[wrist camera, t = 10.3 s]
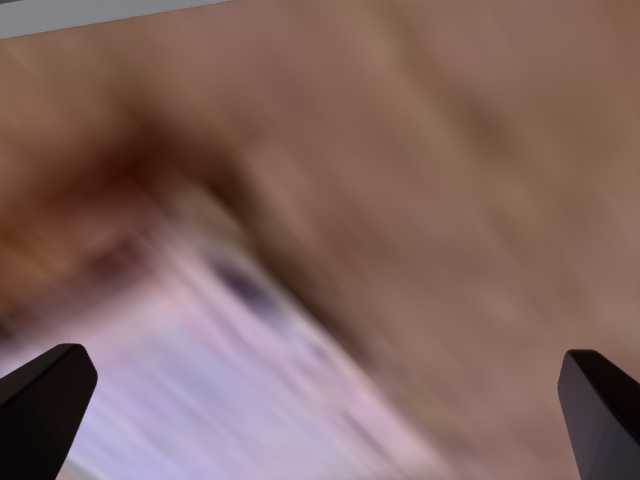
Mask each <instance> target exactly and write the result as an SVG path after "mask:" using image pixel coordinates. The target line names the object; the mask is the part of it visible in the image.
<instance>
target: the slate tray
mask: <svg viewBox="0 0 640 480" xmlns="http://www.w3.org/2000/svg"><path fill="white" fill-rule="evenodd" d="M227 1H233V0H0V39H5V38H11V37H17V36H23V35H29V34H35V33H41V32H47V31H53V30H59V29H65V28H71V27H77V26H83V25H89V24H95V23H101V22H107V21H113V20H119V19H125V18H131V17H137V16H143V15H149V14H155V13H161V12H167V11H173V10H179V9H185V8H191V7H197V6H203V5H209V4H215V3H221V2H227Z"/></svg>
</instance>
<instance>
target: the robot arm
mask: <svg viewBox="0 0 640 480" xmlns="http://www.w3.org/2000/svg"><path fill="white" fill-rule="evenodd" d="M97 380H98V374H97V371H96V369H95V367H94V365H93V363H92V361H91V359H90V357H89V355H88V353H87V351H86V349H85V348H84V346H82V345H81V344H70V343H64V344H59V345H57V346H55V347H53V348H52V349H50V350H48V351H46V352H45V353H43V354H41V355H40V356H38V357H36V358H35V359H33V360H31V361H30V362H28V363H26V364H24V365H23V366H21V367H19V368H18V369H16V370H14V371H13V372H11V373H9V374H8V375H6V376H4V377H2V378H1V379H0V480H55V479H56V477H57V475H58V473H59V471H60V469H61V467H62V465H63V463H64V461H65V459H66V457H67V455H68V453H69V450H70V448H71V446H72V443H73V441H74V438H75V436H76V434H77V431H78V429H79V426H80V424H81V421H82V419H83V416H84V414H85V412H86V409H87V407H88V404H89V402H90V399H91V397H92V394H93V392H94V390H95V387H96V384H97ZM558 395H559V400H560V403H561V407H562V411H563V414H564V418H565V422H566V426H567V429H568V433H569V437H570V441H571V444H572V448H573V452H574V455H575V459H576V463H577V467H578V470H579V474H580V477H581V480H640V383H638V382H637V381H636V380H634V379H633V378H632V377H631V376H629V375H628V374H627V373H625V372H624V371H623V370H621V369H620V368H619V367H617V366H616V365H615V364H613V363H612V362H611V361H609V360H608V359H607V358H606V357H604V356H603V355H602V354H600V353H599V352H597V351H595V350H591V349H571V350H568V351H567V352H566V354H565V356H564V360H563V364H562V368H561V372H560V376H559V381H558Z"/></svg>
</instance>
